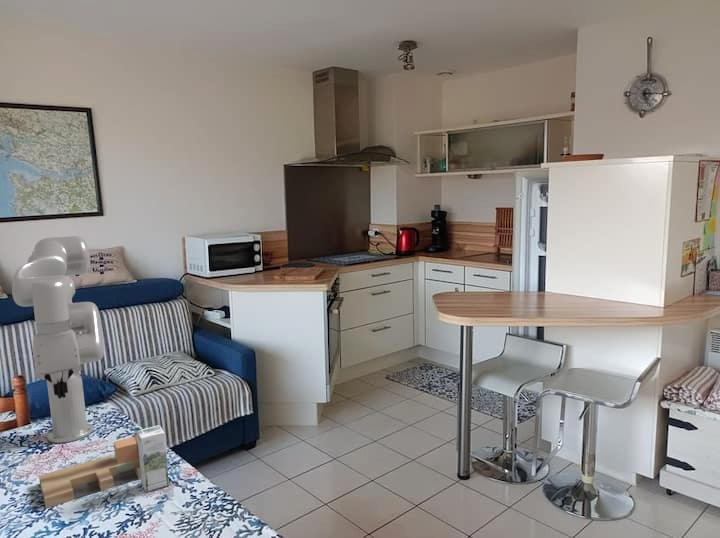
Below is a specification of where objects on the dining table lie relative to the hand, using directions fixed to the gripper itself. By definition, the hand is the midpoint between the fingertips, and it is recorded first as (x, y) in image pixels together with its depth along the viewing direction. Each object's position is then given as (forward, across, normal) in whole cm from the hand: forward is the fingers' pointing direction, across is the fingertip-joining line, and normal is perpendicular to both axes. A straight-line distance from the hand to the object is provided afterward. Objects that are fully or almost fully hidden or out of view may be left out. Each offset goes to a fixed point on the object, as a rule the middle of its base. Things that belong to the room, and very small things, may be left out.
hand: (61, 396), depth 140 cm
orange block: (+19, -13, +5) cm, 24 cm away
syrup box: (+22, -16, +20) cm, 34 cm away
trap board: (+22, -5, +8) cm, 24 cm away
